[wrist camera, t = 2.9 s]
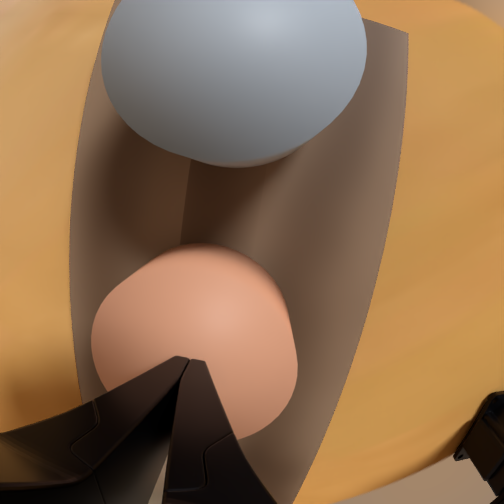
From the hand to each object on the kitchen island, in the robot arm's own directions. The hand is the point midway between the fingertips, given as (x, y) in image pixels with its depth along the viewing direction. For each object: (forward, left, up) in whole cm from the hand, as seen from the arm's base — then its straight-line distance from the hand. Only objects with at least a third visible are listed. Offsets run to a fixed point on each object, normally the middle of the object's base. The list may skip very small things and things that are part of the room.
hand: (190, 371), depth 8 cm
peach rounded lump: (0, 0, -6) cm, 6 cm away
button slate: (0, -8, -5) cm, 10 cm away
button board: (0, 0, -6) cm, 6 cm away
